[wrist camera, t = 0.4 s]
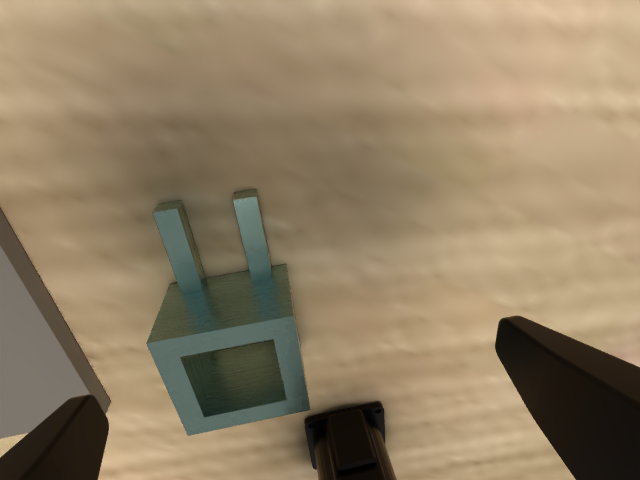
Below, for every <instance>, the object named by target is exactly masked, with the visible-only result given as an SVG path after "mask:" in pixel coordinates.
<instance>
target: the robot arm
mask: <svg viewBox="0 0 640 480" xmlns="http://www.w3.org/2000/svg"><path fill="white" fill-rule="evenodd" d="M495 349H496V353H497V355H498V357H499V359H500V361H501V363H502V364H503V366H504V368H505V370H506V371H507V373H508V375H509V377H510V378H511V380H512V382H513V384H514V386H515V387H516V389H517V391H518V393H519V394H520V396H521V398H522V400H523V401H524V403H525V405H526V407H527V408H528V410H529V412H530V413H531V415H532V417H533V418H534V420H535V421H536V423H537V424H538V426H539V427H540V429H541V430H542V432H543V433H544V434H545V436H546V437H547V439H548V440H549V442H550V443H551V445H552V446H553V447H554V449H555V450H556V452H557V453H558V455H559V456H560V457H561V459H562V460H563V462H564V463H565V465H566V466H567V467H568V469H569V470H570V472H571V473H572V475H573V476H574V478H575V479H576V480H640V367H638V366H635V365H633V364H631V363H628V362H626V361H624V360H622V359H619V358H617V357H615V356H612V355H610V354H608V353H605V352H603V351H601V350H598V349H596V348H594V347H591V346H589V345H587V344H584V343H582V342H580V341H577V340H575V339H573V338H570V337H568V336H566V335H563V334H561V333H559V332H556V331H554V330H552V329H549V328H547V327H545V326H542V325H540V324H538V323H535V322H533V321H531V320H528V319H526V318H524V317H521V316H511V317H506V318H502V319H501V320H500V321H499V324H498V330H497V336H496V343H495ZM304 423H305V430H306V435H307V440H308V445H309V450H310V455H311V461H312V466H313V469H316V470H317V472H318V479H319V480H396V477H395V474H394V471H393V468H392V465H391V462H390V459H389V456H388V453H387V450H386V447H385V424H384V408H383V406H382V404H381V403H374V404H369V405H365V406H360V407H356V408H351V409H346V410H342V411H337V412H332V413H328V414H323V415H318V416H314V417H309V418H307V419H306V420H305V422H304ZM108 431H109V423H108V419H107V417H106V415H105V413H104V411H103V410H102V408H101V406H100V404H99V402H98V400H97V398H96V397H95V396H94V395H92V394H87V395H82V396H77V397H72V398H70V399H68V400H67V401H66V402H64V403H63V404H62V405H61V406H60V407H59V408H57V409H56V410H55V411H54V412H53V413H52V414H50V415H49V416H48V417H47V418H46V419H45V420H44V421H42V422H41V423H40V424H39V425H38V426H37V427H35V428H34V429H33V430H32V431H31V432H30V433H28V434H27V435H26V436H25V437H24V438H23V439H21V440H20V441H19V442H18V443H17V444H16V445H14V446H13V447H12V448H11V449H10V450H9V451H8V452H6V453H5V454H4V455H3V456H2V457H1V458H0V480H98V476H99V472H100V467H101V463H102V458H103V454H104V449H105V445H106V441H107V436H108Z"/></svg>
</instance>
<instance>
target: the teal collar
mask: <svg viewBox="0 0 640 480" xmlns="http://www.w3.org/2000/svg"><path fill="white" fill-rule="evenodd" d="M233 203H234V207H235V211H236V216H237V220H238V224H239V228H240V233H241V237H242V241H243V245H244V250H245V254H246V258H247V263H248V267H249V271H243V272H237V273H232V274H226V275H220V276H214V277H208V278H205V275H204V272H203V268H202V265H201V262H200V259H199V255H198V252H197V249H196V246H195V242H194V239H193V236H192V233H191V229H190V226H189V223H188V220H187V216H186V213H185V210H184V207H183V203H182V201H175V202H168V203H162V204H158V206H157V207H156V208H155V210H154V211H153V215H154V218H155V220H156V223H157V226H158V229H159V232H160V234H161V237H162V240H163V243H164V246H165V249H166V251H167V254H168V257H169V260H170V263H171V265H172V268H173V271H174V274H175V277H176V279H177V282H178V283H174V284H170V285H169V287H168V290H167V293H166V295H165V298H164V300H163V303H162V305H161V308H160V310H159V313H158V315H157V318H156V320H155V323H154V326H153V328H152V331H151V333H150V336H149V338H148V341H147V343H146V344H147V346H148V348H149V350H150V353H151V355H152V357H153V359H154V361H155V364H156V366H157V368H158V370H159V373H160V375H161V377H162V379H163V381H164V384H165V386H166V388H167V390H168V393H169V395H170V397H171V399H172V401H173V404H174V406H175V408H176V410H177V413H178V415H179V417H180V419H181V422H182V424H183V426H184V428H185V430H186V433H187V435H188V436H189V435H194V434H199V433H204V432H208V431H213V430H218V429H222V428H227V427H232V426H236V425H241V424H246V423H250V422H255V421H260V420H264V419H269V418H274V417H279V416H283V415H288V414H293V413H297V412H302V411H307V410H310V404H309V397H308V391H307V384H306V378H305V371H304V365H303V358H302V352H301V346H300V340H299V334H298V329H297V323H296V317H295V311H294V306H293V300H292V294H291V288H290V283H289V277H288V271H287V266H286V264H284V265H278V266H271V261H270V256H269V251H268V246H267V241H266V236H265V231H264V225H263V220H262V215H261V210H260V205H259V200H258V195H257V190H256V189H254V190H248V191H241V192H234V197H233ZM271 339H273V340H271ZM265 340H271V341H266V342H261V343H255V342H260V341H265ZM250 343H255V344H250ZM245 344H250V345H245ZM239 345H245V346H240V347H235V348H229V347H234V346H239ZM224 348H229V349H224ZM219 349H224V350H219ZM214 350H219V351H214Z"/></svg>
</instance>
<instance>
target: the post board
mask: <svg viewBox="0 0 640 480" xmlns="http://www.w3.org/2000/svg"><path fill="white" fill-rule="evenodd" d="M87 394H92V395H94V396H95V397H96V398H97V400H98V402H99V404H100V406H101V408H102V410H103V411H104V413H105V414H106V412H107V410H108V407H109V405H110V403H111V401H110V399H109V398H108V396H107V394H106V392H105V391H104V389H103V387H102V385H101V384H100V382H99V380H98V378H97V377H96V375H95V373H94V371H93V370H92V368H91V366H90V364H89V363H88V361H87V359H86V357H85V356H84V354H83V352H82V350H81V349H80V347H79V345H78V343H77V342H76V340H75V338H74V336H73V335H72V333H71V331H70V329H69V328H68V326H67V324H66V322H65V321H64V319H63V317H62V316H61V314H60V312H59V310H58V309H57V307H56V305H55V303H54V302H53V300H52V298H51V296H50V295H49V293H48V291H47V289H46V288H45V286H44V284H43V282H42V281H41V279H40V277H39V275H38V274H37V272H36V270H35V268H34V267H33V265H32V263H31V261H30V260H29V258H28V256H27V254H26V253H25V251H24V249H23V247H22V246H21V244H20V242H19V240H18V239H17V237H16V235H15V233H14V232H13V230H12V228H11V226H10V225H9V223H8V221H7V219H6V218H5V216H4V214H3V212H2V211H1V209H0V438H5V437H10V436H15V435H20V434H25V433H30V432H31V431H32V430H33V429H34V428H35V427H37V426H38V425H39V424H40V423H41V422H42V421H44V420H45V419H46V418H47V417H48V416H49V415H50V414H52V413H53V412H54V411H55V410H56V409H57V408H59V407H60V406H61V405H62V404H63V403H64V402H66V401H67V400H68V399H70V398H72V397H77V396H82V395H87Z"/></svg>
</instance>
